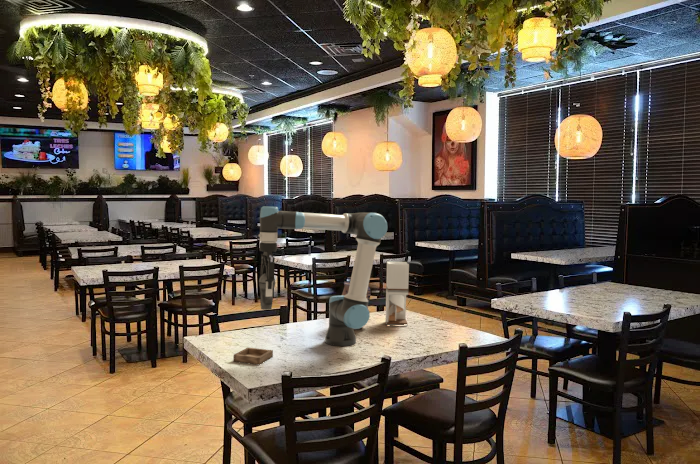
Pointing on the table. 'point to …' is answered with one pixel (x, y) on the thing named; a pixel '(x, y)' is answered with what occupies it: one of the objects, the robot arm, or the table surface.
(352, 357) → the table surface
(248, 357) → the wooden tray
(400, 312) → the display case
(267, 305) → the beverage cup
